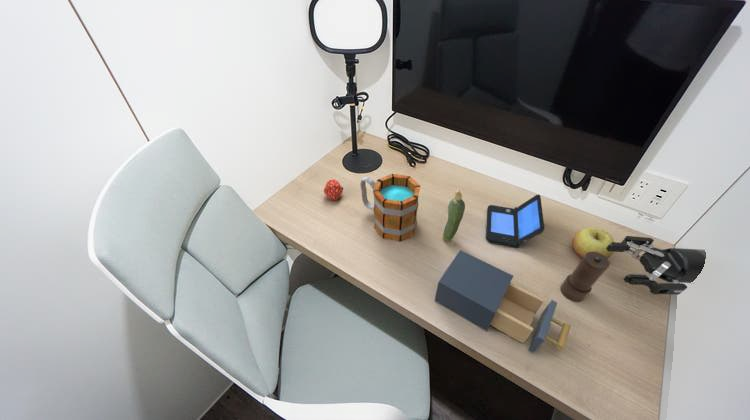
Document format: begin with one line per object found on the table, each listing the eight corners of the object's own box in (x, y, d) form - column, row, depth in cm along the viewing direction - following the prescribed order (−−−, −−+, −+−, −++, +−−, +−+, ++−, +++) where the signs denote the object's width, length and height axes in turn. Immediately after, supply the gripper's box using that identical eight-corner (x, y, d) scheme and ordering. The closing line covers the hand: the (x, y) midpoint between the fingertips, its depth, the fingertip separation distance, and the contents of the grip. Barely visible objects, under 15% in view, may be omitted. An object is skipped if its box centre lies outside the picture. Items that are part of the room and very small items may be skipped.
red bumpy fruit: (327, 205, 108) (324, 185, 111) (346, 201, 108) (343, 181, 111) (322, 198, 102) (320, 177, 105) (342, 194, 102) (339, 173, 105)
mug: (425, 221, 99) (430, 184, 88) (402, 249, 91) (404, 212, 80) (375, 197, 107) (374, 161, 97) (349, 220, 99) (346, 184, 89)
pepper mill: (589, 300, 78) (619, 265, 68) (568, 303, 78) (596, 269, 68) (575, 281, 82) (602, 246, 72) (555, 284, 82) (580, 249, 72)
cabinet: (503, 295, 80) (513, 275, 74) (486, 331, 73) (495, 313, 67) (454, 269, 85) (460, 249, 79) (434, 300, 79) (438, 281, 73)
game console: (486, 207, 103) (493, 185, 96) (530, 214, 100) (540, 192, 93) (485, 242, 92) (492, 220, 85) (533, 252, 89) (545, 230, 83)
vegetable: (448, 232, 95) (459, 180, 81) (459, 240, 93) (473, 189, 79) (438, 239, 93) (448, 188, 79) (449, 248, 91) (462, 196, 77)
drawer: (565, 326, 72) (578, 312, 68) (553, 365, 66) (566, 352, 62) (495, 290, 80) (502, 274, 75) (478, 322, 74) (485, 307, 69)
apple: (567, 236, 93) (579, 217, 88) (604, 245, 90) (619, 226, 85) (568, 261, 87) (580, 242, 81) (608, 272, 84) (624, 253, 78)
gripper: (684, 230, 72) (610, 227, 73) (729, 284, 62) (642, 279, 63) (664, 251, 77) (595, 247, 78) (702, 303, 67) (623, 299, 68)
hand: (616, 262), depth 71 cm, fingers open, 8 cm apart
